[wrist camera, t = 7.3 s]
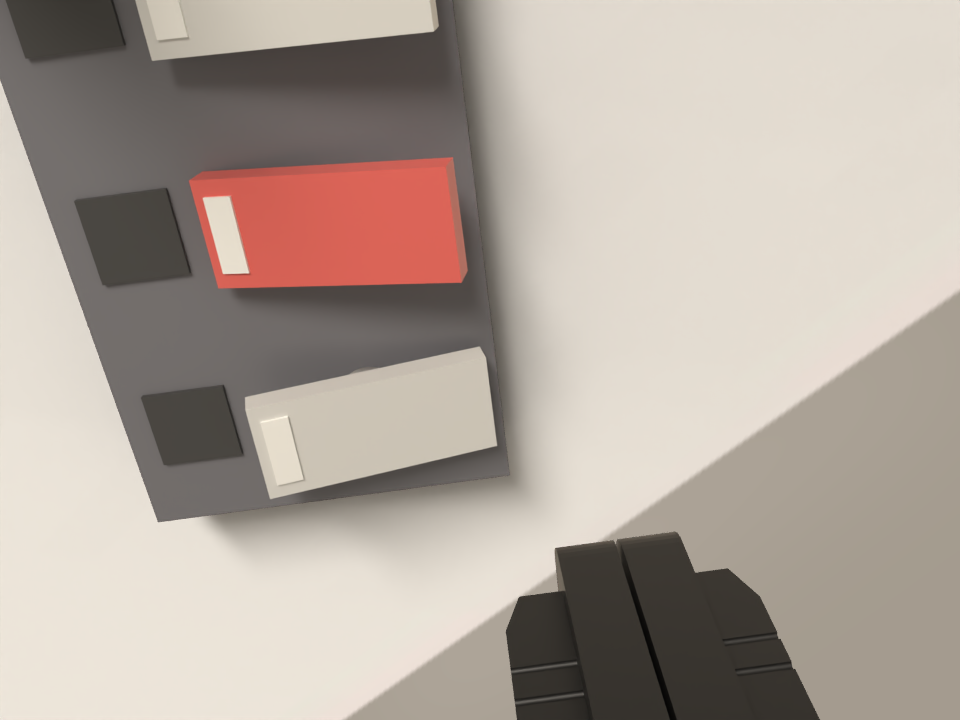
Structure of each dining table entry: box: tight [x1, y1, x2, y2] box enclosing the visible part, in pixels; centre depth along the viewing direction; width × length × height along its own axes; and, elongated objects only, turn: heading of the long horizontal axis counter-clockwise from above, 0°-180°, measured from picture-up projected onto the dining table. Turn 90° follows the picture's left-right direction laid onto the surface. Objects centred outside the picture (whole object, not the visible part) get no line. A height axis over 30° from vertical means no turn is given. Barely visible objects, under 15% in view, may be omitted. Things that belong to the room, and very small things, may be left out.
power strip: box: [0, 0, 510, 522], centre depth 34 cm, size 15×25×4 cm, turn 7°
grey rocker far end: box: [245, 346, 497, 499], centre depth 35 cm, size 9×4×2 cm, turn 97°
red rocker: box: [189, 157, 468, 288], centre depth 31 cm, size 9×4×2 cm, turn 96°
